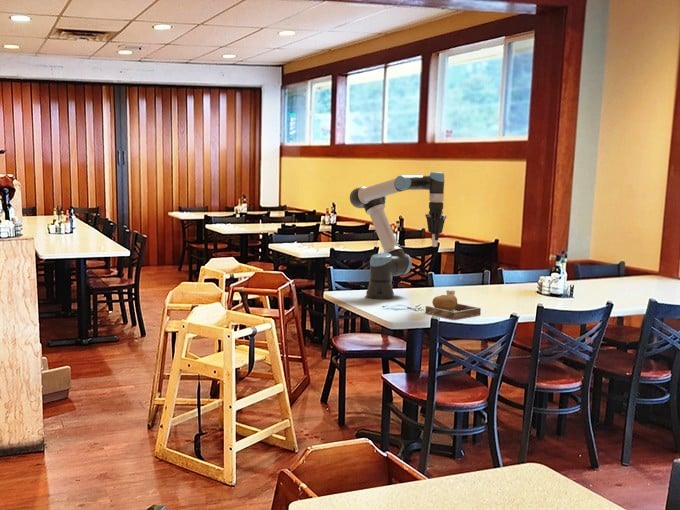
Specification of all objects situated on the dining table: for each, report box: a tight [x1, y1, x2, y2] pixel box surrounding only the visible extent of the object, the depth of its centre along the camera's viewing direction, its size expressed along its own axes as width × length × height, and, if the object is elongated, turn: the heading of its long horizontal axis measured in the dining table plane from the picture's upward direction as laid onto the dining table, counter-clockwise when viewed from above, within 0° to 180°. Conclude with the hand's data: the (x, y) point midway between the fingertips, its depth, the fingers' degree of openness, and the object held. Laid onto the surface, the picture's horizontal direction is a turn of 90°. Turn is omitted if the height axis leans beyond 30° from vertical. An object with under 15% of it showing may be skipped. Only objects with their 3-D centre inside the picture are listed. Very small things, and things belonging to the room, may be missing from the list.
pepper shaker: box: [446, 289, 456, 297], centre depth 362 cm, size 4×4×8 cm
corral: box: [425, 302, 482, 320], centre depth 346 cm, size 19×19×3 cm
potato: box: [432, 294, 458, 311], centre depth 350 cm, size 10×14×8 cm
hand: (434, 246), depth 372 cm, fingers closed
